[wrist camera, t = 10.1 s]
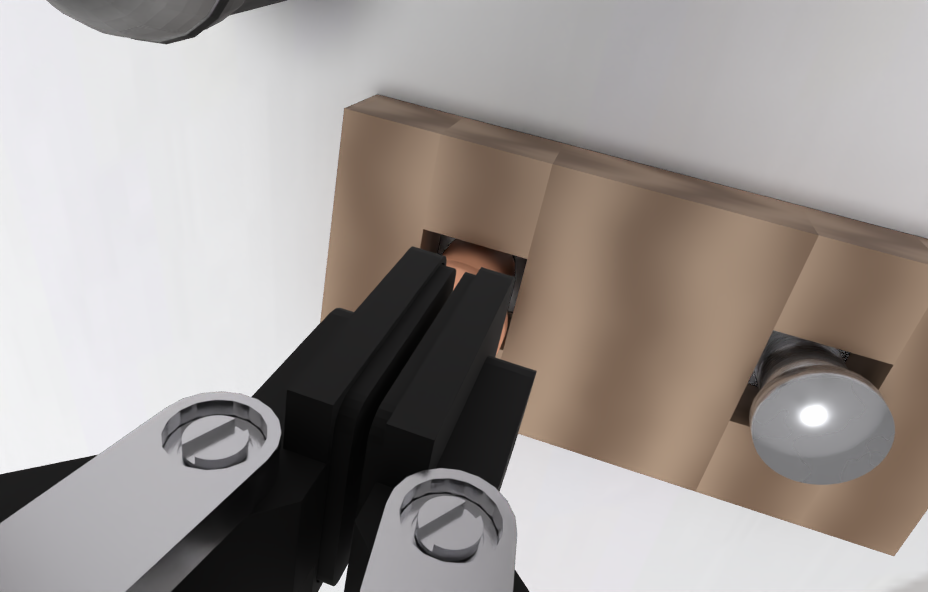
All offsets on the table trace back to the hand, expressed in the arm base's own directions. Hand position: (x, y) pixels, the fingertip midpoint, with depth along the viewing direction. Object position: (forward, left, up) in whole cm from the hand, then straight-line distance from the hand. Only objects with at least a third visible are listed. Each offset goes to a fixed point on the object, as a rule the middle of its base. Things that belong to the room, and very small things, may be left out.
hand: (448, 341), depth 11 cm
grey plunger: (-5, +15, -23) cm, 28 cm away
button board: (+1, +10, -23) cm, 25 cm away
